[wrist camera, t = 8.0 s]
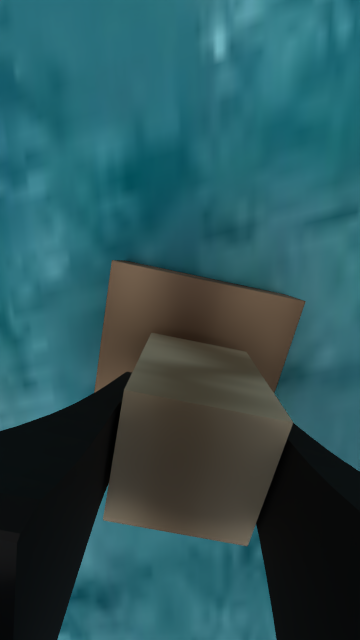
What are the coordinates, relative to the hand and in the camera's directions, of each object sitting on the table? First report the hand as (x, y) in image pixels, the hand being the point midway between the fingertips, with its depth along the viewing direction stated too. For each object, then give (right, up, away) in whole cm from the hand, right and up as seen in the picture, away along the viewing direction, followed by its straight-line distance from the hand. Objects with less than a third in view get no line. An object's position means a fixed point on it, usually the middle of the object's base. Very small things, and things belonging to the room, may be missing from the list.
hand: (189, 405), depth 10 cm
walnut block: (0, +2, +6) cm, 6 cm away
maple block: (0, 0, +2) cm, 2 cm away
